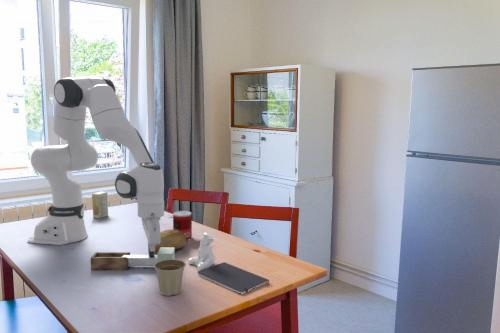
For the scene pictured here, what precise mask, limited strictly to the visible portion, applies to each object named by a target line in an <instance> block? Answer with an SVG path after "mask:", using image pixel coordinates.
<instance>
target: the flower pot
mask: <svg viewBox="0 0 500 333" xmlns="http://www.w3.org/2000/svg"><path fill="white" fill-rule="evenodd" d="M186 266H187V265H186V262H185V261H184V260H181V259H177V258H175V259H168V260H162V261H159V262H157V263H155V265H154V266H153V268H154V269H155V272H156V275H157V276H156V277H157V282H158V287H159V293H160V294H161V295H163V296H170V297H171V296H172V295H178V294H180V292H181V291H182V290H181V289H182V282H183V274H184V271H185V268H186Z"/></svg>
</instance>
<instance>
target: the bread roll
mask: <svg viewBox="0 0 500 333" xmlns="http://www.w3.org/2000/svg"><path fill="white" fill-rule="evenodd" d="M160 239H161V241H160V244H158V245H155V251H154V254H157V253H158V251H159V249H160V247H175V250H178V249H181V248H183V247H185V246H186V244H187V241H186V236H185V234H184V233H183V232H181V231H178V230H173V228H172V229H166V230H165V229H164V230H162V231H160Z"/></svg>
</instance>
